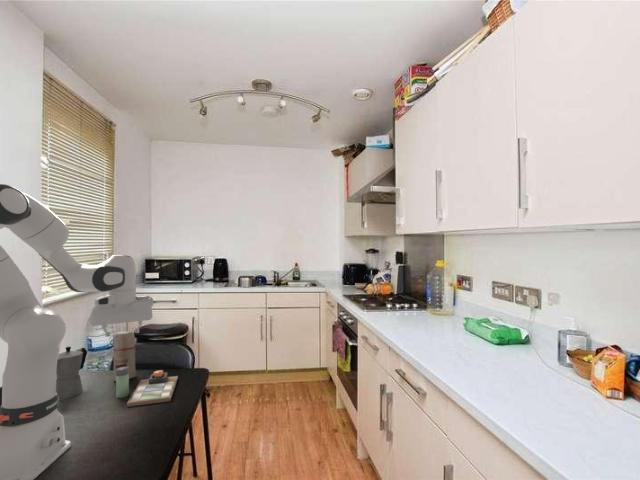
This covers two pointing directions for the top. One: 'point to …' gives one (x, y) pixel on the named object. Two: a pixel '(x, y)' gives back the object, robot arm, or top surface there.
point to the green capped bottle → (122, 382)
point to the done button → (158, 374)
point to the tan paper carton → (124, 352)
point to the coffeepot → (69, 372)
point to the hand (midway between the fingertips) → (122, 334)
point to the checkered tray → (153, 390)
